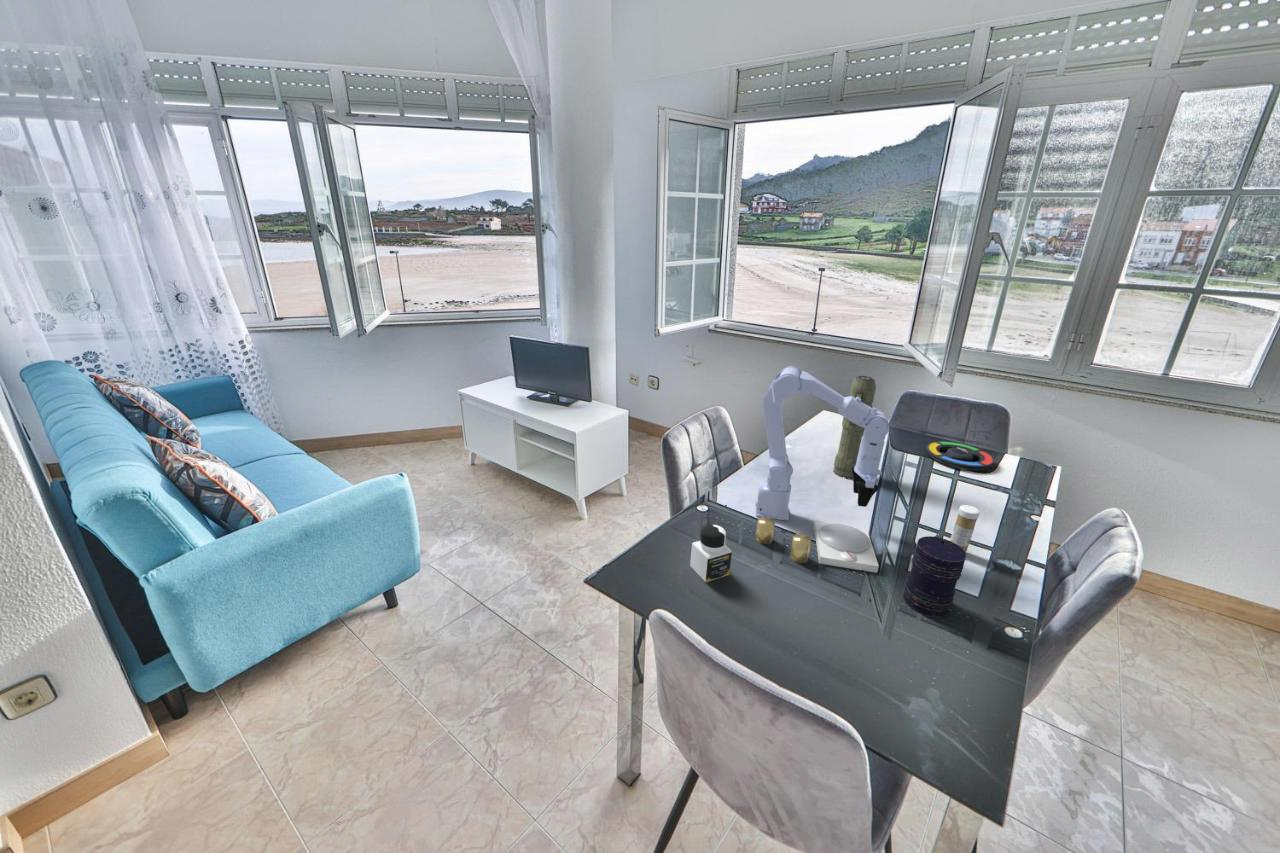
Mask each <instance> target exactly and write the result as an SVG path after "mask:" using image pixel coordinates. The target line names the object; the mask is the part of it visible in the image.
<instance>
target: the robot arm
mask: <svg viewBox="0 0 1280 853" xmlns="http://www.w3.org/2000/svg"><path fill="white" fill-rule="evenodd" d="M799 391H800V392H799ZM797 393H799V395H800V396H804V395H809V394H811V395H813V396H815V397H817V398H819V399H820V400H823V401H825V402H827V403H828V404H830V405H832V406H834V407H835V408H837V410H838V414H839V416H842V418H843V417H845V418H847V419H848V420H850V421H852V422H853V423H855V424H857V425H858V426H860V427H864V428H865V430H864V434H863V437H862V439H861V444H860V448H859V453H858V458H857V462H856V466H855V467H852V468H851V470H852V473H853V479H852V482H853V489H852V490H853V493H854V494H857V506H858V507H863V508H864V507H865V508H867V506H868V504H869V502H870V501H871V499H872V497H873V496H874V495H875V493H877V492H878V491H879V489H880V487H879V485H878V484H876V480H877V477H878V476H882V475H883V471H882V470H881V469H879V468H880V463H881V459H882V455H883V451H884V448H885V439H886V438H887V435H888V434H889V432H890V423H889V417H888V416H887V414H886V413H885V412H883V410H881V409H877V408H876V407H872V408H871V407H869V406H868V405H866V404H864V403H863V402H861V398H859V397H856V398H854V397H853V396H843V395H842V394H840V393H838V392H837V391H836V390H835V389H833V388H831V387H830V386H828V385H827V384H825V383H824V382H822V381H821V380H819V379H818V378H816V377H815V376H813V375H811V374H810V373H809V372H806V371H804V370H801V369H800V368H798V367H796V366H793V365H790V366H789V365H788V366H786V367H784V368H783V369H782V370H781V371H780V372H778V373H777V374H776V376H775V377H774V379H773V381H772V382H771V384H770V386H769V388H768V390H767V391H766V393H765V394H764V397H763V399H762V404H763V412H764V419H765V420H764V421H765V429H766V439H767V446H768V454H769V455H768V456H769V465H768V470H769V473H768V476H767V480H766V482H763V483H762V482H759V483H758V490H757V498H756V500H755V516H756V517H759V518H760V517H769V518H772V519H773V520H781V521H789V520H790V517H789V514H790V513H789V504H790V497H791V491H792V485H791V478H792V475H793V472H794V468H793V466H792V464H791V463H790V460H789V455H788V454H787V445H786V436H785V429H784V428H785V426H784V419H783V409H782V408H783V406H782V404H783V403H784V401H786V399H789V398H790V397H793V396H795V395H796V394H797Z"/></svg>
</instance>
